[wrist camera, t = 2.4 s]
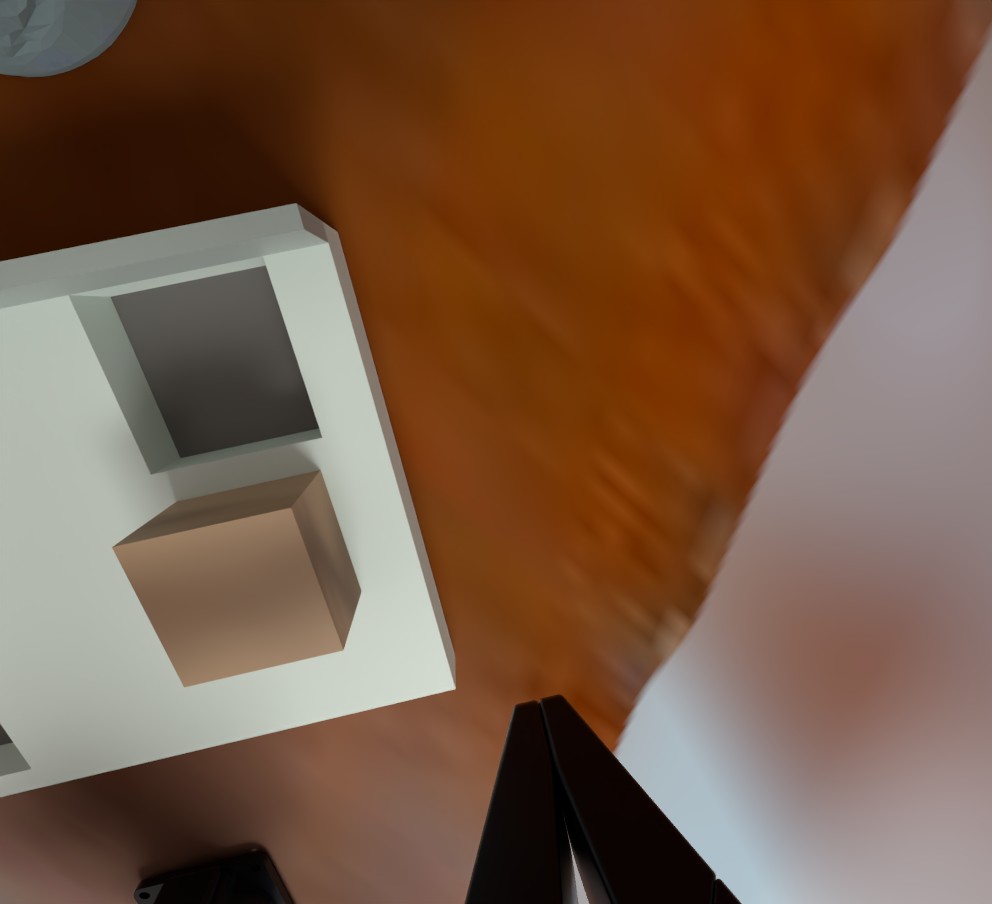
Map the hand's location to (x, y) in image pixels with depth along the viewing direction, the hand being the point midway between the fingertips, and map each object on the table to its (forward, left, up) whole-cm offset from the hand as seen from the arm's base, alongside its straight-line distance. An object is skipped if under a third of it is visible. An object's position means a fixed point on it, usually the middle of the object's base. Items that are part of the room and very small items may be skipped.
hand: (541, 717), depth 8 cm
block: (0, +8, -10) cm, 12 cm away
